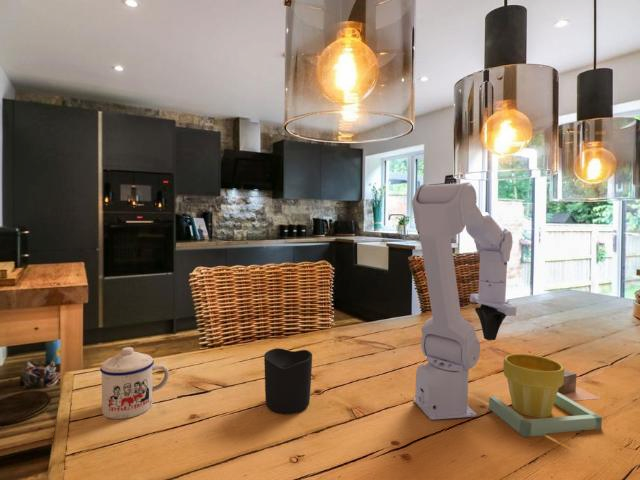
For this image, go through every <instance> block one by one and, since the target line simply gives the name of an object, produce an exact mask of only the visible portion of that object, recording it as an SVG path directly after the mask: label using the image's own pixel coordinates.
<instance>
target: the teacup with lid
mask: <svg viewBox="0 0 640 480" xmlns="http://www.w3.org/2000/svg"><path fill="white" fill-rule="evenodd" d="M99 370H100V372H101V413H102V416H105V417H106V418H108V419H113V420H120V419H121V420H123V419H129V418H133V417H136V416H139V415H141V414H144V413H145V412H147V411H148V410H149V409H150V408H151V407H152V405H153V392H156V391H159V390H161V389H162V388H163V387H164V386H165V385H166V384H167V382H168V380H169V377H170V376H169V375H170V371H169V369H168V367H167V366H166V365H164V364H154V358H153V357H152V356H151V355H149V354H146V353H142V352H137V351H134V348H133V347H131V346H126V347H123V348H122V349H121V352H120V353H118V354H116V355H115V356H112V357H109V358H107V359H106V360H105V361H103V362H102V364H101V365H100V368H99ZM157 370H162V371H164V377H163V379H162V380H161V382H160V383H158V384H157V385H155V386H153V371H157Z"/></svg>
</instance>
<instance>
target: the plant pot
mask: <svg viewBox="0 0 640 480" xmlns="http://www.w3.org/2000/svg"><path fill="white" fill-rule="evenodd" d="M564 369H565V367H564V366H563V365H562V364H561V363H560V362H559V361H557V360H554V359H552V358H549V357H544V356H540V355H536V354H528V353H509V354H508V355H505V356H504V358H503V375H504V377H505V378H506V379H507V383H508V389H509V395H510V399H511V400H510V402H511V406H512V407H513V408H512V409H513V410H516V412H518V413H521V414H523V415H525V416H526V415H527V416H529V417H532V418H533V417H534V418H549V417H550V416H551V415H552V411H553V408H554V405H555V404H554V402H555V398H556V395H557V392H558V389H559V387H561V386H562V385H563V381H564Z"/></svg>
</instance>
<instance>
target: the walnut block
mask: <svg viewBox="0 0 640 480" xmlns="http://www.w3.org/2000/svg"><path fill="white" fill-rule="evenodd" d="M576 386H577V372H573V371H570V370H567V369H565V368H564V381H563V385H562V386H561V387H559V389H558V393H561V394H563V395H565V394H569V393H573V392H576Z"/></svg>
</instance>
